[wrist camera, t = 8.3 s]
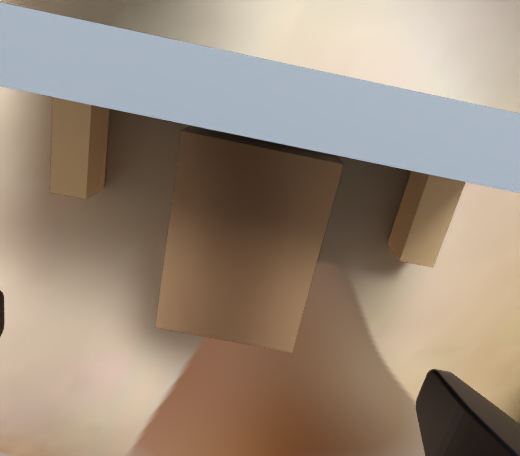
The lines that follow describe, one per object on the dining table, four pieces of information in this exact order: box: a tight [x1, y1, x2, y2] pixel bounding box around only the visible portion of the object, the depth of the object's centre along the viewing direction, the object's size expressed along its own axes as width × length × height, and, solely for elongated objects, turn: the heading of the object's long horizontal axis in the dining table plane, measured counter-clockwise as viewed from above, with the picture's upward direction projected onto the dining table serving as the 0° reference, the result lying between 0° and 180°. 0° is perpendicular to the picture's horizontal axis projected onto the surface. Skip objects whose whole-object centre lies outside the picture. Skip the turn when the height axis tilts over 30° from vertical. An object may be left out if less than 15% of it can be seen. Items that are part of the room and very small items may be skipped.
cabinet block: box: [155, 125, 344, 353], centre depth 17 cm, size 5×7×6 cm
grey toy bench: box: [0, 2, 520, 267], centre depth 14 cm, size 18×6×10 cm, turn 79°
